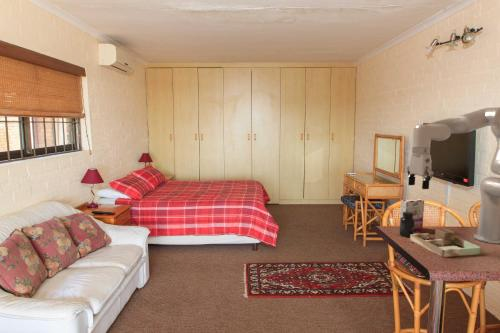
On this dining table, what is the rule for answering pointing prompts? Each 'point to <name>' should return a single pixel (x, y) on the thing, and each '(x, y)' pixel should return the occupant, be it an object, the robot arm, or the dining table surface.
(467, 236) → the dining table surface
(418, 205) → the candy bar box
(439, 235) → the tan wooden block
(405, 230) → the supplement bottle
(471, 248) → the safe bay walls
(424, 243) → the lane box
